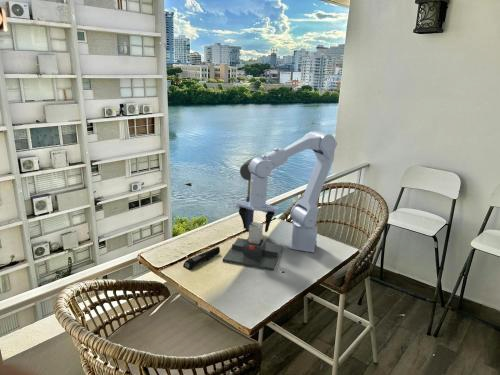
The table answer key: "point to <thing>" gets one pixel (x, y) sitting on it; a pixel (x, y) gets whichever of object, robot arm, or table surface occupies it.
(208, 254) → the electric trimmer
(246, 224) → the robot arm
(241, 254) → the stand base
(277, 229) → the table surface
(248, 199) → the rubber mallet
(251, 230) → the column
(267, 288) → the table surface
